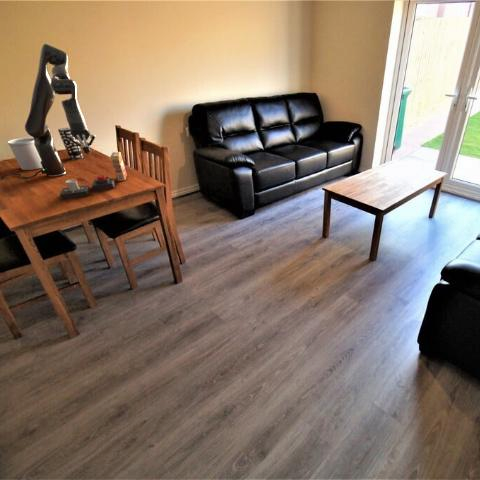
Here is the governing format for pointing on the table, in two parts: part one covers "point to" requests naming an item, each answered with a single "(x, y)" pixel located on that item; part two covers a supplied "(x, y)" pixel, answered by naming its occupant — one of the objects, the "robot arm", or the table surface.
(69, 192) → the dial panel
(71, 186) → the dial
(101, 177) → the power button
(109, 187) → the button housing
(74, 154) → the spotted tube
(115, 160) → the candy box
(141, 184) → the table surface
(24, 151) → the utensil holder
